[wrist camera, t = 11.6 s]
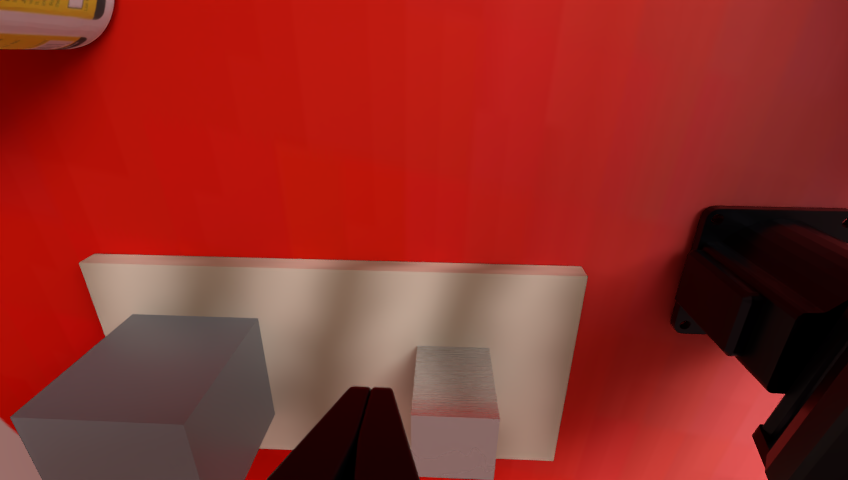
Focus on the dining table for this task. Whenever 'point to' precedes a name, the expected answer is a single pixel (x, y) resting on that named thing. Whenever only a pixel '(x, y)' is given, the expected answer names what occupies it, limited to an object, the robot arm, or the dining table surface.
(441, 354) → the grey cube
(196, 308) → the board
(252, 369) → the gray matte cube
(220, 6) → the dining table surface
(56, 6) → the supplement bottle
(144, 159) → the dining table surface
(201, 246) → the dining table surface
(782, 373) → the robot arm
